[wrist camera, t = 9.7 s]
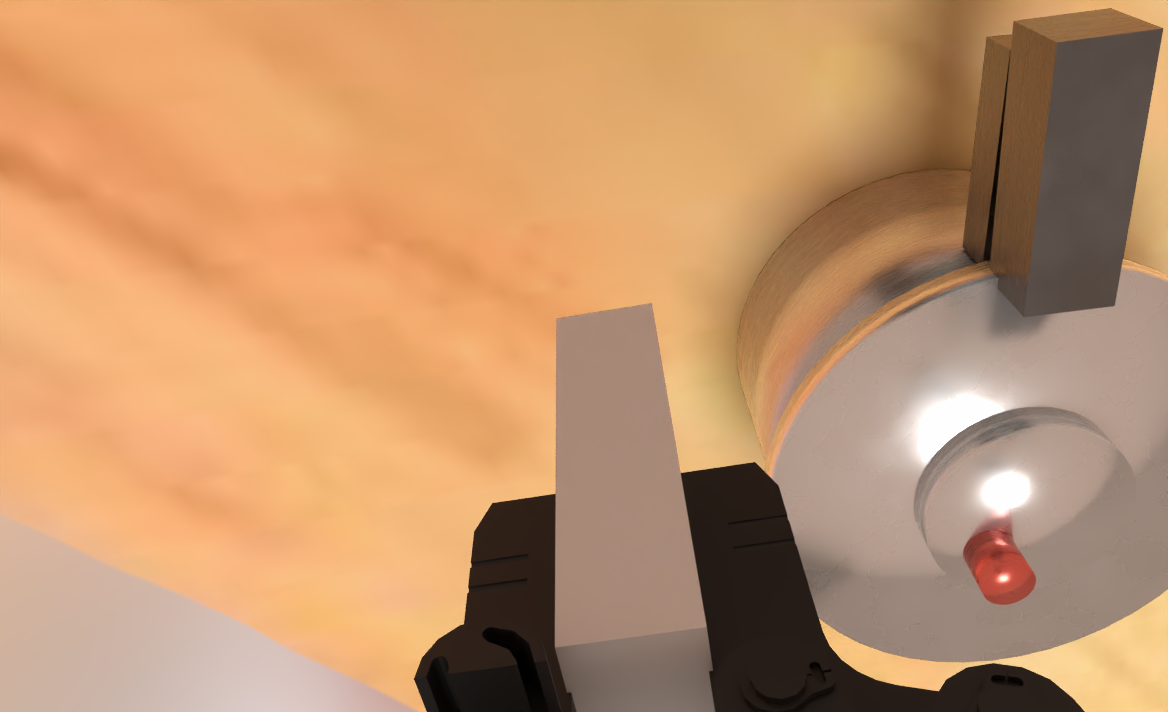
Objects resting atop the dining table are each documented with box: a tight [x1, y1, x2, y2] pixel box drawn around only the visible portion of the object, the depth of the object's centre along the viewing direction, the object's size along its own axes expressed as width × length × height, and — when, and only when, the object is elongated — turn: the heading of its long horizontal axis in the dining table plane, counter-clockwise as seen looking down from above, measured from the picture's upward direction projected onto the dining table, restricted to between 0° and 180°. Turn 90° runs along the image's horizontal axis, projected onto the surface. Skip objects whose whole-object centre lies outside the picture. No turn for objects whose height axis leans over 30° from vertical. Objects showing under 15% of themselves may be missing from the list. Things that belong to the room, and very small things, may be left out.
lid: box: [764, 8, 1168, 662], centre depth 36 cm, size 28×20×5 cm
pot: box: [737, 35, 1012, 461], centre depth 43 cm, size 28×18×11 cm, turn 5°
